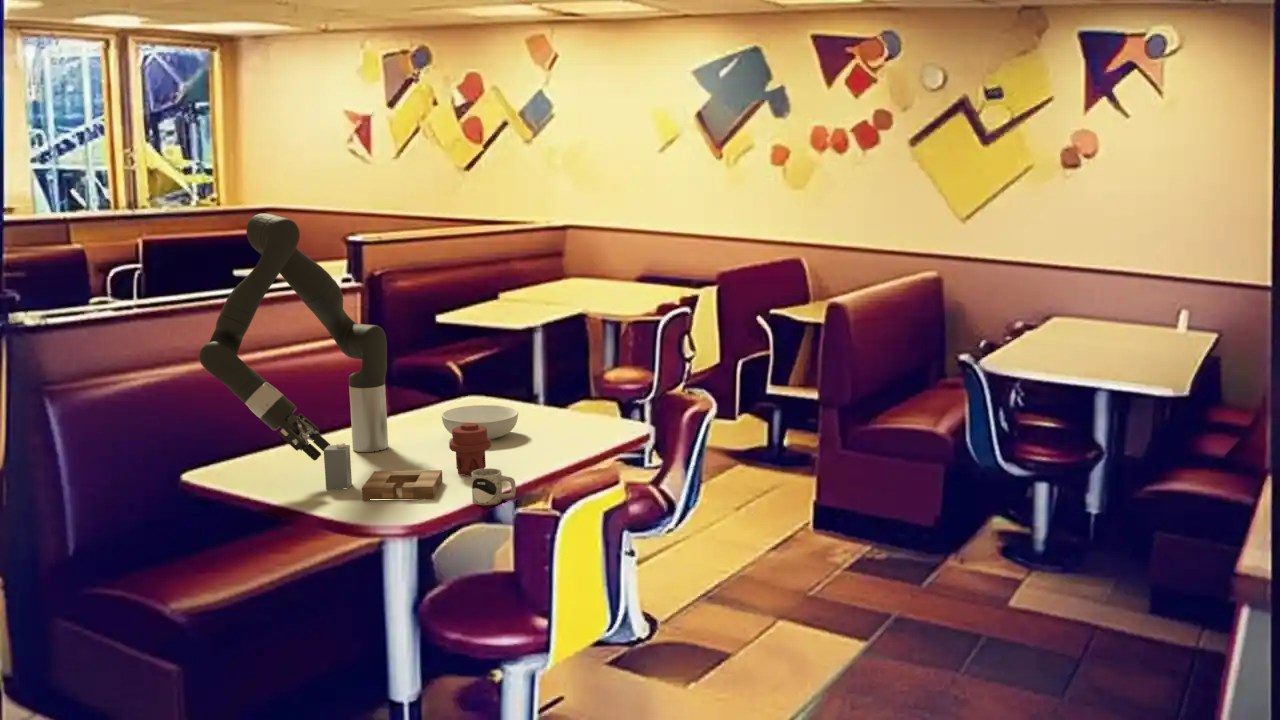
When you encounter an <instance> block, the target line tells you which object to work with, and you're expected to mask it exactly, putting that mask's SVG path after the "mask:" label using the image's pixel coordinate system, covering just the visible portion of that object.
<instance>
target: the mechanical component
mask: <svg viewBox="0 0 1280 720" xmlns="http://www.w3.org/2000/svg"><path fill="white" fill-rule="evenodd" d="M451 435H452V440H450V441H449V442H448V446H449V450H450V451H452V452H454V453H455V461H456V463H455V464H456V465H455V466H456V470H457V474H458V475H460V474H462V475H463V476H468V477H469V478H472V472H473V471H475V470H478V469H486V468H487V467H486V451H487V450H489V449H490V448H491V447H492V439H491V440H490V439H488V438H487V428H486V427H484V426H480V425H477V424H476V423H465V424H462V425H461V426H459V427H456V428H454V429H452V434H451Z"/></svg>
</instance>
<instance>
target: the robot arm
mask: <svg viewBox="0 0 1280 720" xmlns="http://www.w3.org/2000/svg"><path fill="white" fill-rule="evenodd" d="M300 233H301V231H300V228H299V226H298V225H297V223H296V222H295V221H293V220H292V219H290V218H287V217H283V216H279V215H276V214H272V213H258V214H255V215H253V216H252V217H251V218H250V219H249V220H248V221H247V225H246V237H247V240H248V242H249V244H250V246H251V247H252V248H253V249H254V250H255V251H256V252H258V254H260V255H261V256H260V258H259V259H258V262H257V264H256V265H255V266H254V268H253V269H252V270H251V271H250V272H249V274H248V275H246V277H245V278H244V279H243V280H242V281H241V282H239V283H238V284H237V285H236V287H234V288H233V290H232V291H231V292H230V294H229V295H228V297H227V298H226V299H225V302H224V304H223V306H222V309H221V310H220V313H219V315H218V317H217V320H216V323H215V329H214V332H212V335H211V337H210V340H209V342H208V343H206V344H204V345H203V346H202V347H201V349H200V351H199V357H198V360H199V362H200V364H201V366H202V367H203V368H204V369H205V370H206V371H208V373H210V374H211V375H212V376H213V377H215V378H216V379H217V380H218V381H220V382H221V383H222V384H224V385H225V386H226V387H227V388H228V389H229V390H230V391H231V392H232V394H233V395H235V396H236V397H237V398H238V399H239V400H240V401H241V402H242V403H243V404H245V405H246V406H247V407H248V409H249V410H250V411H251V412H252V413H253V414H254V415H255V416H256V417H258V418H259V419H260V420H261V421H262V422H263V423H264V424H265V425H266V426H267V427H269V428H270V429H271V430H272V431H277V430H278V429H279V428H280V431H278V433H277V434H278V435H279V436H280V437H281V438H282V439H283V440H284V441H286V443H287V444H289V446H291V448H293V449H294V450H295V451H296V452H298V451H301V452H302V451H303V452H304V453H305V454H306V455H307V456H308V457H309V458H310V459H311V460H313V461H317V460H318V459H319V458H320V457H321V456H322V453H321V451H322V452H324V449H325V448H326V447H327V446H328V445H331V444H330V443H329V442H328V441H327V440H326V439H325V438H324V437H323V436H322V435H320V428H319V427H318V426H317V425H315V424H314V423H313V422H312V421H311V420H310V419H309V418H307V416H305V415H304V414H303V413H299V414H298V415H295V414H294V413H295V412H296V411H297V409H298V408H297V406H296V405H295V404H294V403H293V402H292V401H291V400H289V398H288V397H286V396H285V395H284V394H283V393H282V392H281V391H280V390H278V388H276V387H275V386H273V384H270V383H269V382H268V381H267V380H266V379H265V378H264V377H262V376H261V375H260V374H259V373H258V372H257V371H255V370H254V369H253V368H252V367H250V366H248V365H247V364H246V363H245V362H244V361H243V360H242V359H241V358H240V357H239V356H238V353H239V351H240V347H241V345H242V342H243V338H244V337H245V336H246V333H247V331H248V330H249V327H250V325H251V323H252V320H253V319H254V317H255V315H256V312H257V310H258V308H259V307H260V305H261V302H262V301H263V299H264V297H265V295H266V294H267V292H268V291H269V289H270V287H271V286H272V284H273V283H274V282H275V280H276V279H277V278H278V276H279V274H280V275H281V276H282V278H283V279H284V281H285V282H286V284H288V286H290V288H291V289H292V290H293V291H294V293H295V294H296V295H297V296H298V298H299V299H300V300H301V301H302V302H303V303H304V304H305V306H306V307H307V308H308V309H309V310H310V312H312V314H314V316H315V317H316V318H317V320H318V321H319V322H320V323H321V324H322V325H323V326H324V328H325V329H326V330H327V331H328V333H329V334H330V336H331V337H332V339H333V341H334V342H335V344H336V345H337V347H338V348H339V350H340V351H341V352H342V353H343V354H344V355H345V356H346V357H348V358H350V359H354V360H361V367H360V368H361V369H359V370H358V371H356V372H353V373H351V374H350V375H348V376H349V377H348V388H349V389H348V390H349V403H350V405H349V406H350V420H351V423H350V425H351V438H352V442H351V443H352V450H353V451H354V452H360V453H374V451H375V452H380V451H379V450H381V451H384V450H386V448H387V447H388V448H389V439H388V437H389V434H388V415H387V413H388V412H387V397H386V396H387V395H386V375H387V372H388V371H387V370H388V342H387V341H388V340H387V335H386V333H385V331H384V329H383V328H382V327H381V326H379V325H376V324H365V323H357V322H355V321H354V320H353V319H352V318H351V317H350V316H349V315H348V314H347V313H346V311H345V309H344V297H343V296H344V295H343V291H342V288H341V287H340V286H339V284H338V283H337V282H336V281H335V280H334V278H333V277H332V275H331V274H330V273H329V272H327V270H325V269H324V267H322V266H321V265H320V264H319V263H317V262H316V261H314V260H313V259H312V258H310V257H309V256H308V255H306V254H304V253H303V252H302V251H301V250H300V249H299V248H297V247H298V245H299V241H300V237H301V235H300ZM310 441H311V442H312V443H313V444H314V445H315V446H317V447H318V448H319V449H320V450H321V451H320V450H318V449H317V448H316V447H315V446H314V445H313V444H311V443H310ZM388 448H387V449H388ZM383 449H384V450H383Z"/></svg>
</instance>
